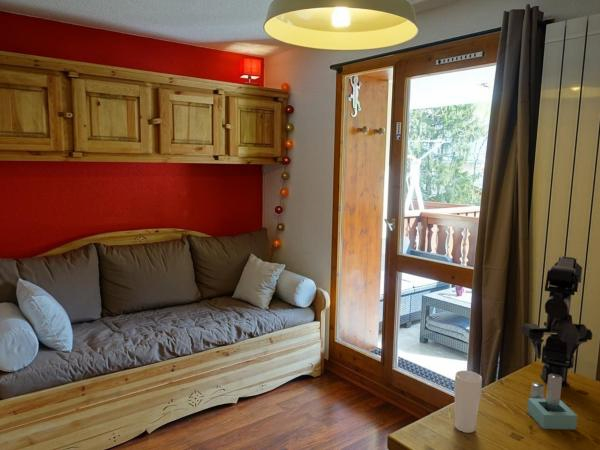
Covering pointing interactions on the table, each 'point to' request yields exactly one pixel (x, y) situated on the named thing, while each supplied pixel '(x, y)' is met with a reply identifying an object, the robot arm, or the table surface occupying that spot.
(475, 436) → the table surface
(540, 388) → the short pin
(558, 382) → the tall pin
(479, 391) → the drinking glass
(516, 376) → the table surface
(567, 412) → the hole block
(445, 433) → the table surface
